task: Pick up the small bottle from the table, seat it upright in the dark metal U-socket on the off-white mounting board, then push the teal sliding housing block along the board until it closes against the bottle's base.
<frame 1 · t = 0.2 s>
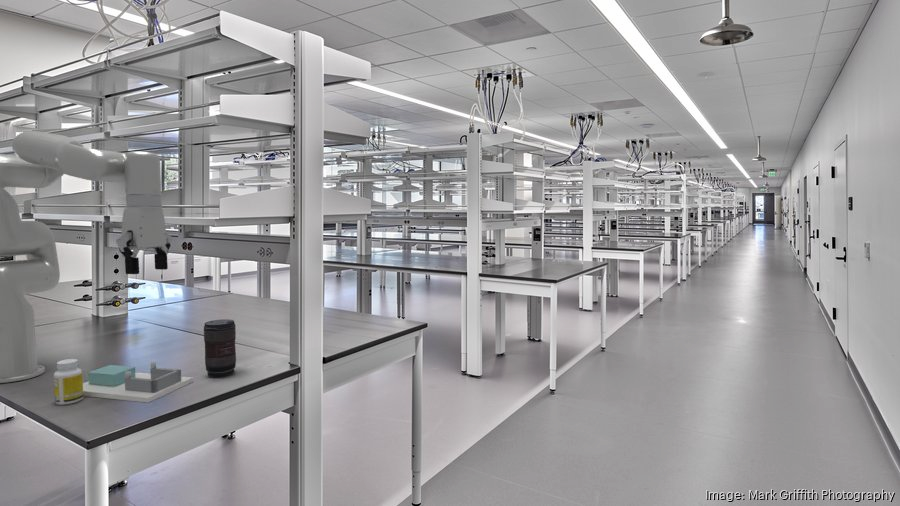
hand: (147, 271, 125), 31 cm above the lab bench, tool pointing down, fingers open, 9 cm apart
board: (132, 387, 130), on the lab bench
camera lens: (221, 374, 141), on the lab bench
housing: (112, 375, 131), point 3 cm above the lab bench, slide at 0.0 cm
supplement bottle: (69, 401, 120), on the lab bench
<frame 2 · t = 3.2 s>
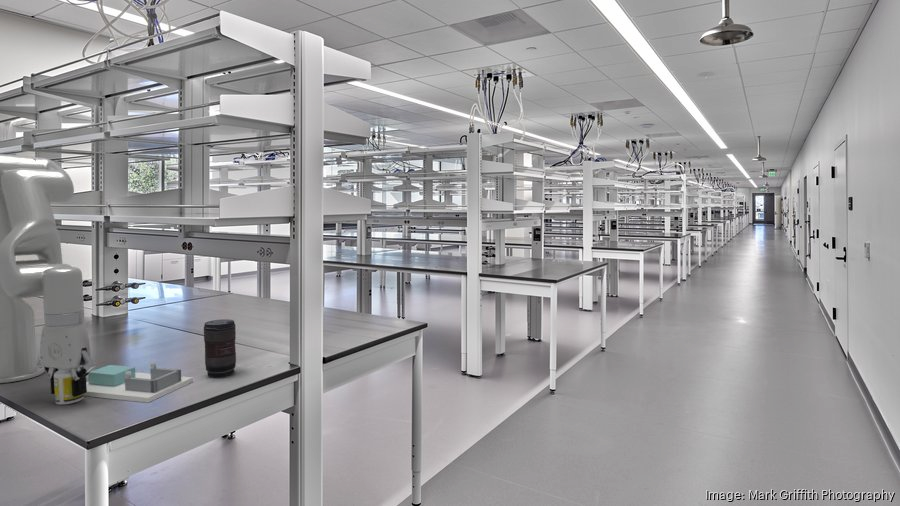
hand: (69, 392, 120), 2 cm above the lab bench, tool pointing down, fingers closed on supplement bottle, 5 cm apart
supplement bottle: (69, 401, 120), on the lab bench, touching gripper
everything else where it was.
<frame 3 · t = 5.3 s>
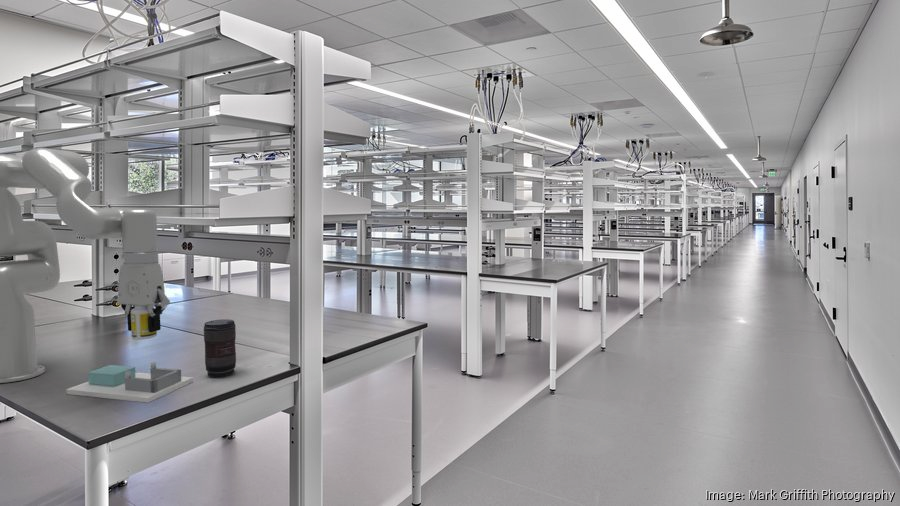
hand: (144, 329, 126), 16 cm above the lab bench, tool pointing down, fingers closed on supplement bottle, 5 cm apart
supplement bottle: (144, 338, 127), point 14 cm above the lab bench, touching gripper
everything else where it was.
when the fingers open (5 cm above the lab bench, at t = 7.7 s): supplement bottle drops 2 cm, resting on board.
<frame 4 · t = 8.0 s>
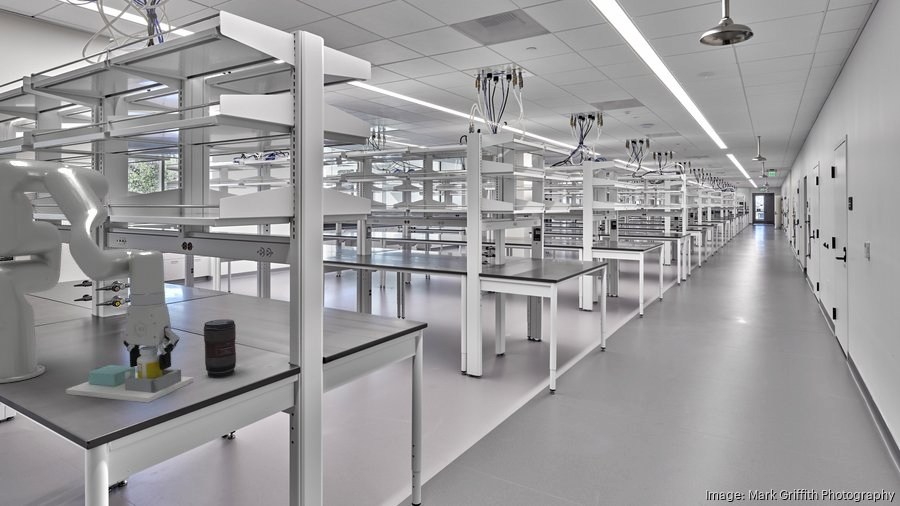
hand: (150, 366, 128), 6 cm above the lab bench, tool pointing down, fingers open, 8 cm apart
supplement bottle: (150, 385, 128), point 1 cm above the lab bench, touching board
everything else where it was.
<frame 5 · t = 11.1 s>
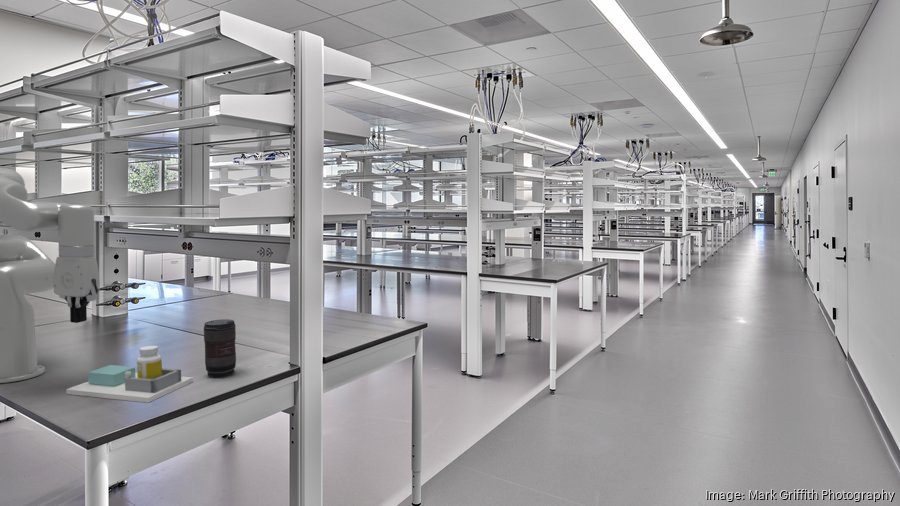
hand: (78, 321, 132), 17 cm above the lab bench, tool pointing down, fingers closed
nothing on the lab bench moved.
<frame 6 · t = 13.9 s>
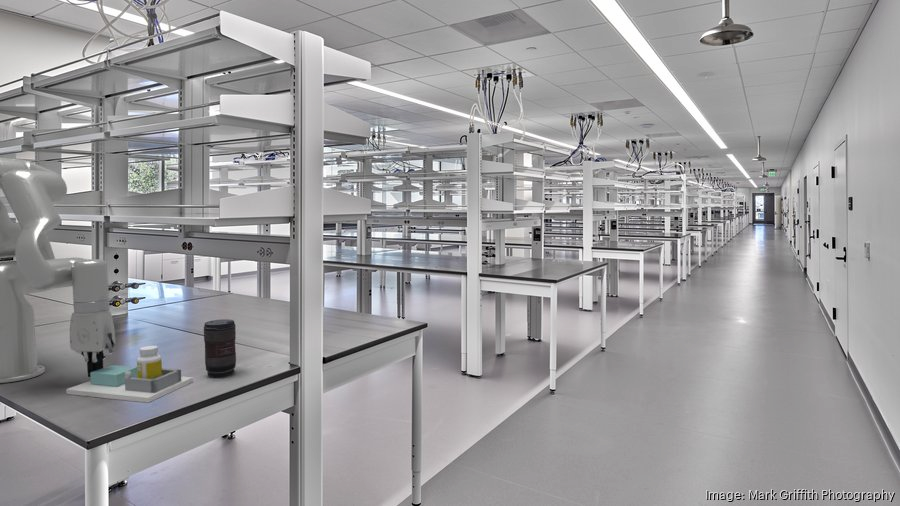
hand: (95, 375, 132), 2 cm above the lab bench, tool pointing down, fingers closed
housing: (114, 375, 131), point 3 cm above the lab bench, slide at 0.7 cm, touching gripper
everything else where it was.
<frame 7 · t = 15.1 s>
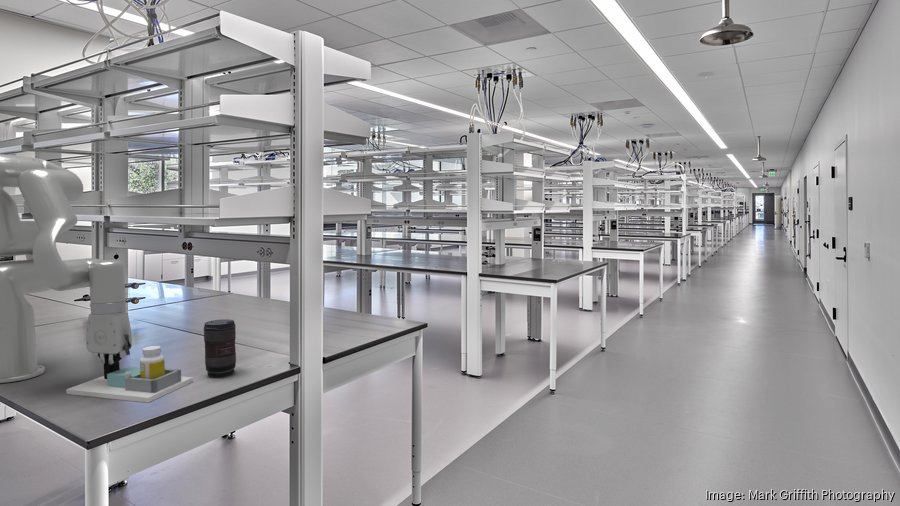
hand: (112, 377, 131), 2 cm above the lab bench, tool pointing down, fingers closed
housing: (131, 377, 129), point 3 cm above the lab bench, slide at 5.9 cm, touching supplement bottle, gripper
supplement bottle: (153, 386, 128), point 1 cm above the lab bench, touching board, housing
everything else where it was.
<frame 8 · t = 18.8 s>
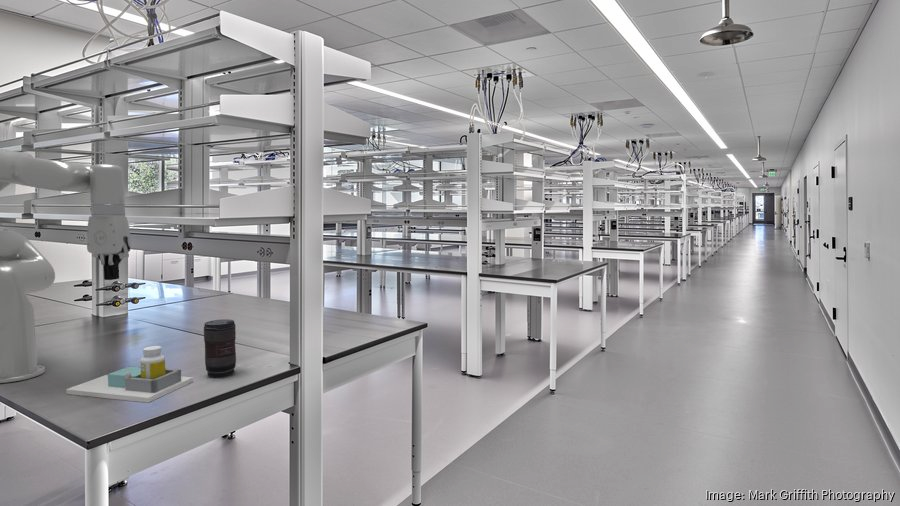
hand: (111, 279, 136), 27 cm above the lab bench, tool pointing down, fingers closed
housing: (131, 377, 129), point 3 cm above the lab bench, slide at 6.0 cm
supplement bottle: (153, 386, 128), point 1 cm above the lab bench, touching board
everything else where it was.
at the end: supplement bottle 0.5 cm from the target spot on the board, point 1.0 cm above the board's base; supplement bottle tilted 0°; housing slide at 6.0 cm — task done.
